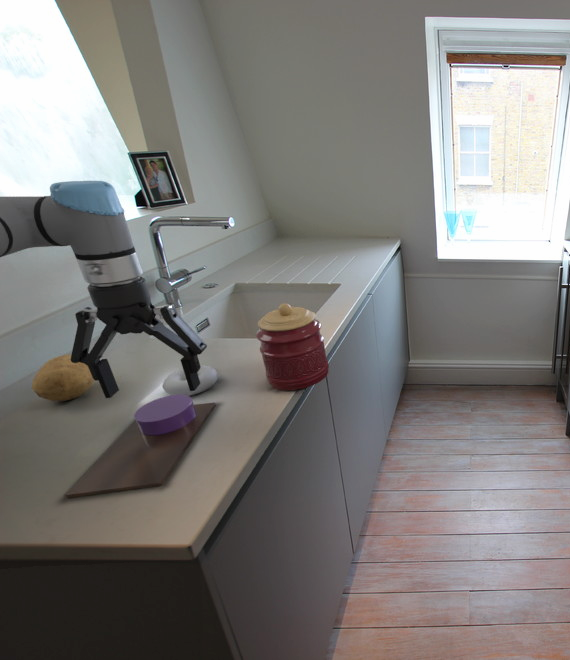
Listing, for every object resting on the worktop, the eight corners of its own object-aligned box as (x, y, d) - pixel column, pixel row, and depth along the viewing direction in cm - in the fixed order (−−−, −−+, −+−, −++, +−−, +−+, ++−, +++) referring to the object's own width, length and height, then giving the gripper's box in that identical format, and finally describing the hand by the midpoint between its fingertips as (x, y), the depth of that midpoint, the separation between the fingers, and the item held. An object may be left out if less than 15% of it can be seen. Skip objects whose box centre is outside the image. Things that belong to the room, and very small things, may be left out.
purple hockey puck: (129, 438, 80) (123, 424, 78) (154, 409, 88) (149, 397, 86) (184, 432, 81) (179, 418, 80) (204, 405, 89) (200, 392, 88)
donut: (213, 395, 94) (223, 372, 102) (209, 381, 92) (219, 359, 101) (158, 404, 91) (173, 379, 99) (153, 389, 89) (168, 366, 98)
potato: (101, 374, 102) (88, 343, 99) (103, 400, 92) (88, 366, 89) (43, 389, 96) (27, 356, 93) (38, 418, 86) (20, 382, 83)
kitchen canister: (328, 386, 96) (314, 311, 89) (263, 396, 93) (243, 318, 86) (330, 359, 108) (318, 291, 100) (273, 367, 104) (255, 296, 97)
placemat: (66, 498, 67) (65, 495, 67) (144, 412, 88) (143, 409, 88) (161, 485, 70) (160, 482, 69) (216, 404, 90) (215, 402, 90)
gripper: (8, 291, 67) (62, 408, 76) (190, 283, 72) (221, 395, 80) (43, 276, 74) (89, 386, 83) (207, 270, 78) (235, 374, 87)
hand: (154, 390), depth 82 cm, fingers open, 13 cm apart
